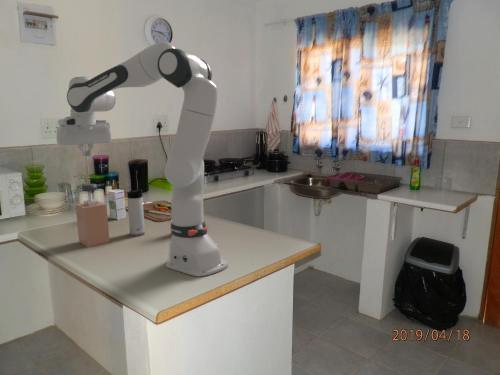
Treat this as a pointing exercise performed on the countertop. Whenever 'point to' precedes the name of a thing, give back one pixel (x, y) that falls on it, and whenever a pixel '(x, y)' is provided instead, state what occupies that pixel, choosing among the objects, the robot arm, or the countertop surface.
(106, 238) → the dispenser
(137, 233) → the travel mug
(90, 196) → the pump head
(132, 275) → the countertop surface
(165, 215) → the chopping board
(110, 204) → the syrup box
